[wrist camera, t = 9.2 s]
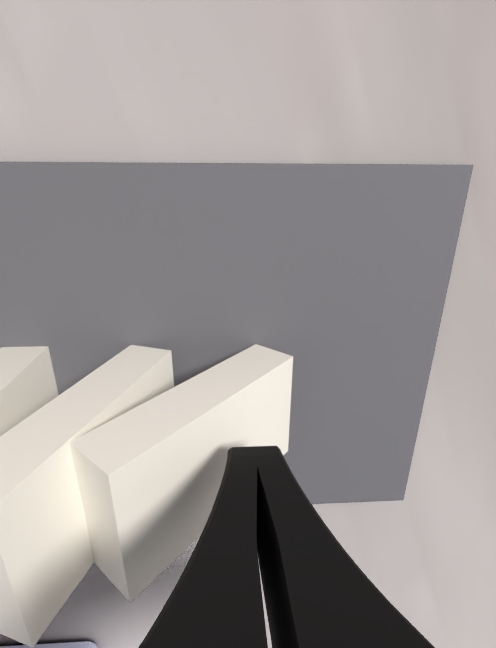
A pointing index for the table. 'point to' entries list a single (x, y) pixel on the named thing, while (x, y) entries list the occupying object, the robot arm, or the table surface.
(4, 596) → the domino
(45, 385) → the domino
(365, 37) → the table surface
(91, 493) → the domino
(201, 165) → the runner mat
